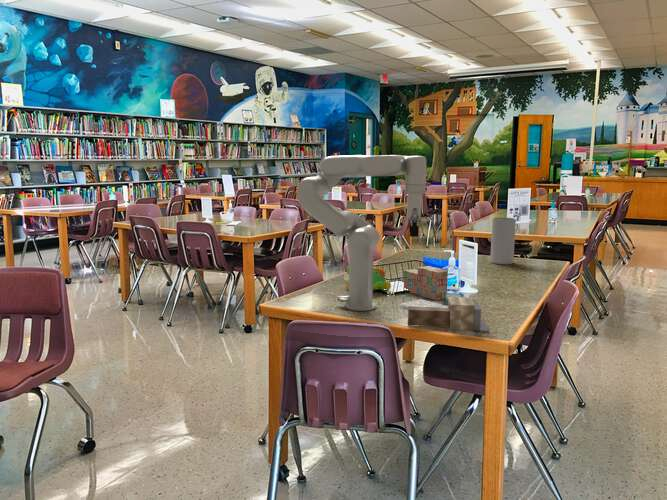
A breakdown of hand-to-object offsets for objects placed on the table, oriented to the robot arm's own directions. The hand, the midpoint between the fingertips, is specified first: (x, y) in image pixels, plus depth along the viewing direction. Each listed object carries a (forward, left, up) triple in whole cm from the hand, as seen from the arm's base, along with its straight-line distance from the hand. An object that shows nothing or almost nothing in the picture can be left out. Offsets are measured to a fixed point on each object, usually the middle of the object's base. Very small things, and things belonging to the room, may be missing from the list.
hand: (413, 234), depth 220 cm
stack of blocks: (+6, +30, -31) cm, 44 cm away
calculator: (+7, +6, -31) cm, 32 cm away
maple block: (+17, -15, -30) cm, 38 cm away
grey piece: (+24, -15, -30) cm, 41 cm away
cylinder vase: (+53, +112, -31) cm, 128 cm away
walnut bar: (+8, -15, -31) cm, 35 cm away
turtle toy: (-20, +37, -31) cm, 52 cm away
